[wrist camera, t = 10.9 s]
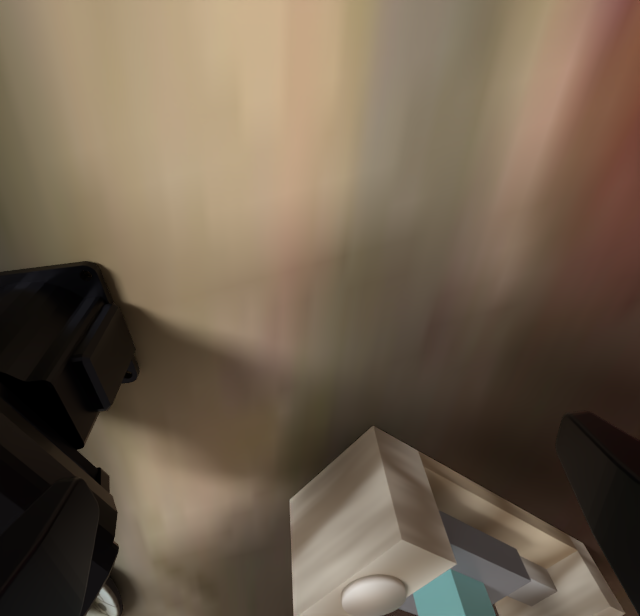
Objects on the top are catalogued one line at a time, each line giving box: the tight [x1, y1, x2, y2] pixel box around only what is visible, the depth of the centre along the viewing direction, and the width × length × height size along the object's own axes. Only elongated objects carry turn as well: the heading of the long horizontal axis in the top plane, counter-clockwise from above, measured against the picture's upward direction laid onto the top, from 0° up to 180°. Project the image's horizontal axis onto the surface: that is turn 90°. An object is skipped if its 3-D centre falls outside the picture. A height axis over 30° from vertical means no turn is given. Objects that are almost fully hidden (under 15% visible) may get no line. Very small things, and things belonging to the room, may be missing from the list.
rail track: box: [290, 426, 625, 616], centre depth 29 cm, size 22×8×7 cm, turn 51°
